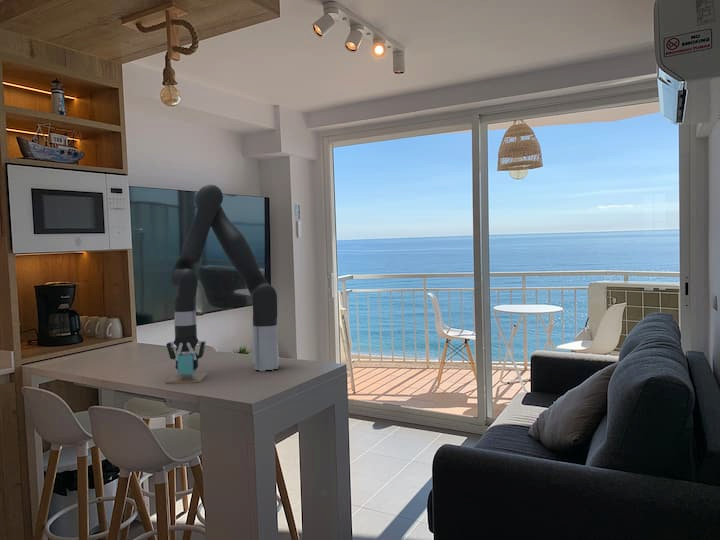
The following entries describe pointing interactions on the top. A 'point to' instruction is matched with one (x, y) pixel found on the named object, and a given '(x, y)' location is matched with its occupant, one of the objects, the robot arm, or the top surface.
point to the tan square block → (187, 378)
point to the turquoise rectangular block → (185, 363)
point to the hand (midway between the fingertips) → (187, 369)
